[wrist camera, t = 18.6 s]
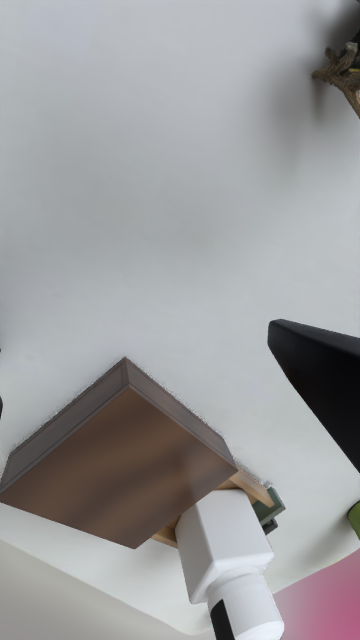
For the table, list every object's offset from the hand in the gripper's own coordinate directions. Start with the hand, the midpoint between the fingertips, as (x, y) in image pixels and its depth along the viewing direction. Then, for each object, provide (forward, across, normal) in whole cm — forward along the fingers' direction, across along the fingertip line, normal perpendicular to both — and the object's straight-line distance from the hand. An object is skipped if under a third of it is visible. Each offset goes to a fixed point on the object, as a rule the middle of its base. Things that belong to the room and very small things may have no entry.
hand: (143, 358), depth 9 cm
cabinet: (+13, +3, +19) cm, 23 cm away
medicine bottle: (+11, -5, +31) cm, 33 cm away
